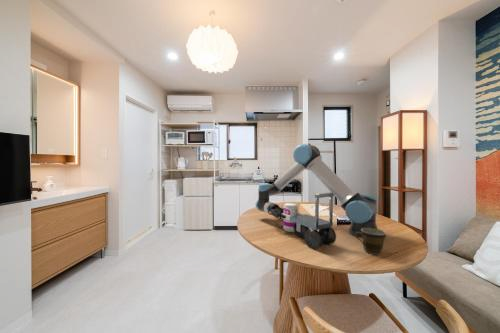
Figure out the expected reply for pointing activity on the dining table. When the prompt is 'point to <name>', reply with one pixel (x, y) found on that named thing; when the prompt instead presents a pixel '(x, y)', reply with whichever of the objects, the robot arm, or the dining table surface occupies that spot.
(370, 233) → the ceramic cup
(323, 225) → the trolley
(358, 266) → the dining table surface
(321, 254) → the dining table surface
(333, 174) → the robot arm
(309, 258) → the dining table surface
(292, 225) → the supplement can
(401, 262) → the dining table surface
